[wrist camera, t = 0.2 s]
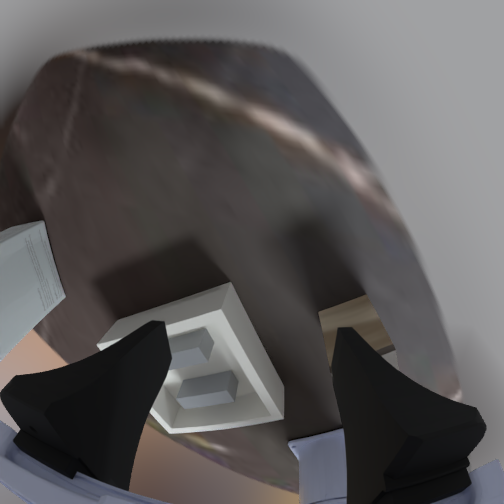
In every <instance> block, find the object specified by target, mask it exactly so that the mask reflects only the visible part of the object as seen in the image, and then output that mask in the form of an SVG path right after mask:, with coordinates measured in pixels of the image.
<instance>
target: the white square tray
mask: <svg viewBox="0 0 504 504" xmlns="http://www.w3.org/2000/svg"><path fill="white" fill-rule="evenodd" d="M151 320H157V321H165V325H166V331H167V336H168V340H169V345H170V350H171V355H172V361H171V364H170V367H169V371H168V374H167V377H166V379H165V381H164V383H163V385H162V387H161V389H160V391H159V394H158V396H157V398H156V400H155V402H154V404H153V406H152V408H151V410H150V413H151V414H152V415H153V416H154V418H155V419H156V420H157V421H158V422H159V423H160V424H161V425H162V426H163V427H164V428H165V429H166V430H167V431H168V432H169V433H170V434H171V433H188V432H201V431H211V430H220V429H228V428H236V427H242V426H249V425H255V424H261V423H266V422H271V421H276V420H281V419H284V385H283V383H282V381H281V380H280V378H279V376H278V374H277V372H276V370H275V368H274V366H273V364H272V362H271V360H270V358H269V357H268V355H267V353H266V351H265V349H264V347H263V345H262V343H261V341H260V339H259V337H258V335H257V333H256V331H255V329H254V327H253V325H252V323H251V321H250V319H249V317H248V315H247V313H246V311H245V309H244V307H243V305H242V303H241V301H240V299H239V297H238V295H237V293H236V291H235V289H234V287H233V285H232V283H231V282H228V283H226V284H223V285H220V286H217V287H214V288H211V289H208V290H205V291H202V292H200V293H197V294H194V295H191V296H188V297H185V298H182V299H179V300H176V301H173V302H170V303H167V304H164V305H161V306H158V307H155V308H152V309H149V310H146V311H143V312H140V313H137V314H134V315H131V316H128V317H125V318H122V319H119V320H117V321H116V322H115V324H114V325H113V326H112V327H111V328H110V329H109V331H108V332H107V333H106V334H105V335H104V336H103V338H102V339H101V340H100V341H99V342H98V344H97V346H98V347H99V349H100V350H101V351H102V350H103V349H105V348H107V347H109V346H110V345H112V344H114V343H116V342H117V341H119V340H121V339H122V338H124V337H125V336H127V335H128V334H130V333H132V332H133V331H135V330H136V329H138V328H139V327H141V326H143V325H144V324H146V323H148V322H149V321H151Z"/></svg>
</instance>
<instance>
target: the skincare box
mask: <svg viewBox="0 0 504 504" xmlns="http://www.w3.org/2000/svg"><path fill="white" fill-rule="evenodd" d="M65 297H66V296H65V293H64V290H63V287H62V284H61V281H60V278H59V275H58V272H57V269H56V265H55V262H54V258H53V255H52V251H51V248H50V244H49V240H48V236H47V232H46V228H45V223H44V221H37V222H32V223H27V224H22V225H18V226H13V227H10V228H8V229H6V230H4V231H2V232H0V362H1V360H2V359H3V358H4V357H5V356H6V355H7V354H8V353H9V352H10V351H11V350H12V349H13V348H14V347H15V346H16V344H18V342H19V341H20V340H21V339H22V338H23V337H24V336H25V335H26V334H27V333H28V332H29V331H30V330H31V329H32V328H33V327H34V326H35V325H36V324H37V323H38V322H39V321H40V320H42V319H43V318H44V317H45V316H46V315H47V314H48V313H49V312H50V311H51V310H52V309H53V308H54V307H55V306H56V305H57V304H59V303H60V302H61V301H62V300H63V299H64V298H65Z"/></svg>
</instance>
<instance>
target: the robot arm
mask: <svg viewBox="0 0 504 504" xmlns="http://www.w3.org/2000/svg"><path fill="white" fill-rule="evenodd" d="M171 361H172V355H171V350H170V345H169V340H168V336H167V331H166V325H165V321H157V320H151V321H149V322H148V323H146V324H144V325H143V326H141V327H139V328H138V329H136V330H135V331H133V332H132V333H130V334H128V335H127V336H125V337H124V338H122V339H121V340H119V341H117V342H116V343H114V344H112V345H110V346H109V347H107V348H105V349H103V350H102V351H100V352H98V353H96V354H94V355H92V356H90V357H87V358H85V359H83V360H80V361H78V362H75V363H72V364H69V365H66V366H63V367H61V368H57V369H53V370H49V371H45V372H40V373H33V374H25V375H16V376H15V377H13V378H12V380H11V381H10V382H9V383H8V384H7V385H6V386H5V387H4V388H3V389H2V391H1V392H0V398H1V401H2V403H3V405H4V406H5V408H6V410H7V411H8V412H9V414H10V415H11V417H12V418H13V419H14V421H15V422H16V424H17V425H18V426H19V428H20V429H21V430H20V431H19V432H18V434H17V433H16V432H15V431H14V430H13V429H12V428H10V427H9V426H8V425H6V424H5V423H3V422H2V421H0V482H1V483H2V484H3V485H4V486H5V487H6V488H8V489H9V490H10V491H11V492H13V493H14V494H15V495H17V496H18V497H19V498H21V499H22V500H23V501H25V502H26V503H28V504H171V503H167V502H163V501H159V500H155V499H152V498H148V497H145V496H141V495H137V494H135V493H131V492H129V485H130V478H131V473H132V468H133V464H134V459H135V455H136V451H137V447H138V444H139V440H140V436H141V434H142V430H143V427H144V424H145V421H146V419H147V417H148V414H149V412H150V410H151V408H152V406H153V404H154V402H155V400H156V398H157V396H158V394H159V391H160V389H161V387H162V385H163V383H164V381H165V379H166V377H167V374H168V371H169V367H170V364H171ZM331 368H332V378H333V386H334V391H335V395H336V399H337V404H338V408H339V412H340V417H341V421H342V425H343V428H342V429H338V430H335V431H331V432H327V433H323V434H319V435H315V436H311V437H306V438H302V439H297V440H292V441H289V442H288V446H289V447H290V449H291V450H292V452H293V453H294V454H295V456H296V457H297V459H298V460H299V504H504V471H503V469H502V467H501V464H500V463H499V460H498V459H496V460H494V461H492V462H490V463H488V464H485V465H483V466H481V467H479V468H477V469H475V470H473V471H472V472H470V473H469V474H468V471H467V469H466V468H467V467H468V466H469V464H470V462H469V460H468V458H467V456H468V455H469V454H470V453H471V452H472V451H473V449H474V448H475V447H476V446H477V445H478V443H479V442H480V441H481V439H482V438H483V436H484V433H485V431H486V424H485V422H484V420H483V419H482V417H481V415H480V413H479V411H478V410H477V408H475V407H472V406H469V405H466V404H462V403H459V402H456V401H453V400H450V399H448V398H446V397H443V396H441V395H439V394H436V393H434V392H432V391H430V390H428V389H427V388H425V387H423V386H421V385H419V384H418V383H416V382H414V381H413V380H411V379H410V378H408V377H407V376H405V375H404V374H403V373H401V372H400V371H398V370H397V369H396V368H395V367H393V366H392V365H391V364H390V363H389V362H387V361H386V360H385V359H384V358H383V357H382V356H381V355H380V354H378V353H377V352H376V351H375V350H374V349H373V348H372V347H371V346H370V345H369V344H368V343H367V342H366V341H365V340H364V339H363V338H362V337H361V336H360V335H359V334H358V332H357V331H356V330H355V329H354V328H353V327H338V328H337V335H336V341H335V347H334V352H333V358H332V363H331Z"/></svg>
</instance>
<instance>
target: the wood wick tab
mask: <svg viewBox="0 0 504 504" xmlns="http://www.w3.org/2000/svg"><path fill="white" fill-rule="evenodd" d="M318 314H319V318H320V323H321V327H322V332H323V337H324V342H325V347H326V352H327V357H328V362H329V367H330V372H331V375H332V368H331V363H332V358H333V352H334V347H335V341H336V335H337V328H338V327H353V328H354V329H355V330H356V331H357V332H358V334H359V335H360V336H361V337H362V338H363V339H364V340H365V341H366V342H367V343H368V344H369V345H370V346H371V347H372V348H373V349H374V350H375V351H376V352H377V353H378V354H380V355H381V356H382V357H383V358H384V359H385V360H386V361H387V362H389V363H390V364H391V365H392V366H393V367H395V368H396V369H397V370H398V371H399V369H398V361H397V354H396V349H395V347H394V345H393V343H392V341H391V339H390V337H389V335H388V333H387V332H386V330H385V328H384V326H383V324H382V322H381V320H380V318H379V316H378V315H377V313H376V311H375V309H374V307H373V305H372V304H371V302H370V300H369V298H368V296H367V295H363V296H361V297H358V298H355V299H353V300H350V301H347V302H345V303H342V304H339V305H336V306H334V307H331V308H328V309H325V310H322V311H319V312H318Z"/></svg>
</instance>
